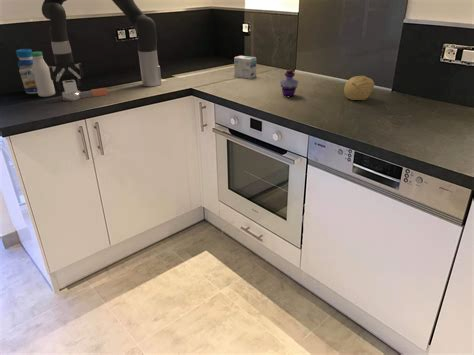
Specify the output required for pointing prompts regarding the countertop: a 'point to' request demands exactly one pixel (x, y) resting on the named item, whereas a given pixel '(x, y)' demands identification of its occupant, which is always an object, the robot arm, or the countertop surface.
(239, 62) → the light bulb box
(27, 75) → the beverage bottle
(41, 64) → the milk bottle
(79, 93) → the ratchet
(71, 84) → the socket
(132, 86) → the countertop surface
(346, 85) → the tan lumpy round lump
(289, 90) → the potion bottle
